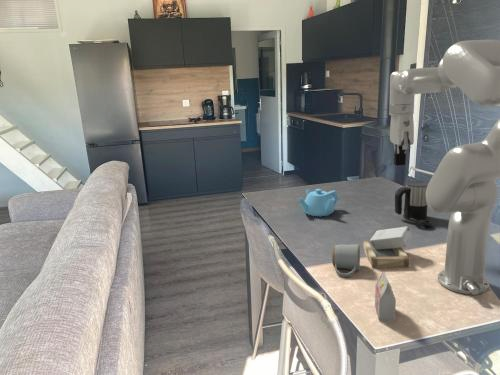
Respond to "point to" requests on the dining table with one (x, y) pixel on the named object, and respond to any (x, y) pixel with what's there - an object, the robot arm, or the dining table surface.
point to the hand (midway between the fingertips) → (399, 164)
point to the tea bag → (384, 300)
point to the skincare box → (391, 238)
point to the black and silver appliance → (413, 202)
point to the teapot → (319, 202)
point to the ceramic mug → (346, 258)
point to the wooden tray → (386, 257)
